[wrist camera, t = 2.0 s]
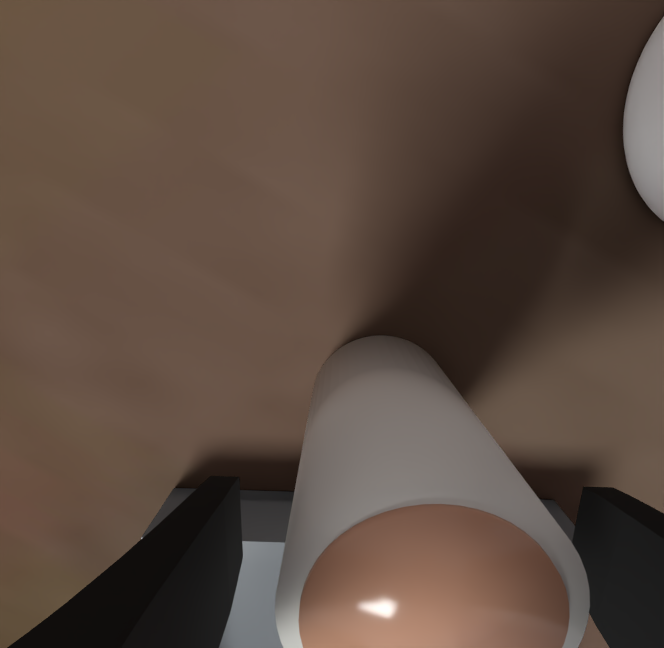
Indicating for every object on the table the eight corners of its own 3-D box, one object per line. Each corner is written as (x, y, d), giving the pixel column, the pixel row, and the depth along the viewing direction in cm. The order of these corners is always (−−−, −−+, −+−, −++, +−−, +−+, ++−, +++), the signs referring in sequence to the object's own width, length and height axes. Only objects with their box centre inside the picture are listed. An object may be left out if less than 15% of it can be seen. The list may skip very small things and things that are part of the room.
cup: (453, 336, 13) (626, 492, 5) (441, 462, 14) (567, 745, 6) (312, 333, 13) (270, 481, 5) (311, 458, 14) (276, 732, 6)
